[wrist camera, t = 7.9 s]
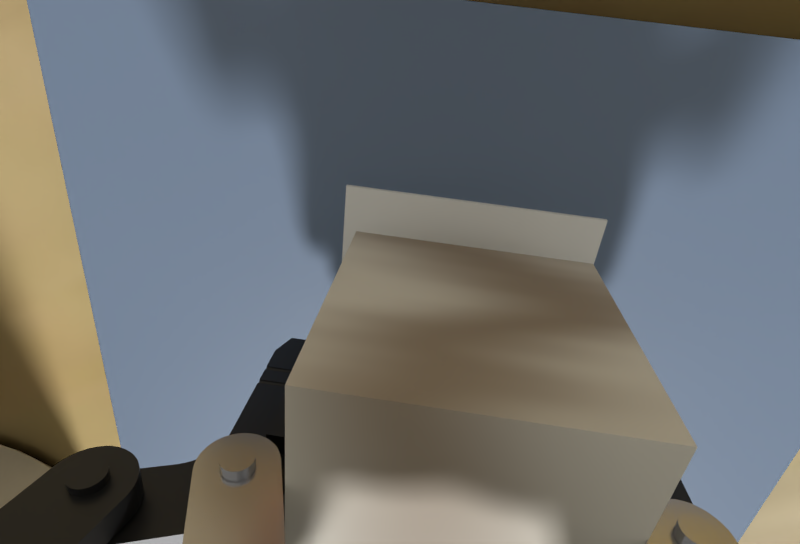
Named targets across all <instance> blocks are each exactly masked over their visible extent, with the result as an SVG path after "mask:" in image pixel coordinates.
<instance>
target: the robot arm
mask: <svg viewBox="0 0 800 544" xmlns="http://www.w3.org/2000/svg"><path fill="white" fill-rule="evenodd" d="M305 341H306V340H303V339H296V338H291V339H290V340H288V341H287V342H286V343H284V344H283V345H282V346H280V347H279V348H278V349H276V350H275V352H274V354H273V355H272V357H271V359H270V361H269V363H268V365H267V368H266V369H265V370H264V372H263V374H262V376H261V378H260V380H259V383H257V385H256V387H255V389H254V390H253V392H252V394H251V396H250V398H249V400H248V401H247V403H246V405H245V407H244V409H243V411H242V413H241V414H240V416H239V418H238V420H237V422H236V424H235V425H234V427H233V429H232V431H231V433H230V434H229V436H225V437H223V438H220V439H218V440H216V441H214V442H213V443H211V444H210V445H209V446H207V447H206V448H205V449H204V450H203V451H202V452H201V453H200V454H199V456H198V457H197V459H196V460H193V461H190V462H186V463H181V464H174V465H165V466H157V467H148V468H140V466H139V463H138V460H137V458H136V457H135V455H133V454H132V453H131V452H130V451H128V450H126V449H123V448H120V447H114V446H101V447H94V448H89V449H86V450H83V451H80V452H77V453H75V454H73V455H71V456H69V457H67V458H65V459H63V460H62V461H60V462H59V463H57V464H56V465H55V466H53V467H52V468H51V469H50V470H48V471H47V472H46V473H45V474H43V475H42V476H41V477H40V478H38V479H37V480H36V481H34V482H33V483H32V484H31V485H29V486H28V487H27V488H26V489H24V490H23V491H22V492H21V493H19V494H18V495H17V496H16V497H14V498H13V499H12V500H10V501H9V502H8V503H7V504H5V505H4V506H3V507H2V508H0V544H285V384H286V382H287V379H288V377H289V375H290V373H291V371H292V369H293V366H294V364H295V362H296V360H297V358H298V356H299V354H300V351H301V349H302V347H303V345H304V343H305ZM645 544H738V543H737V541H736V539H735V538H734V536H733V535H732V534H731V533H730V531H729V530H728V529H727V528H726V527H725V526H724V525H723V524H722V523H721V522H720V521H719V520H718V519H716V518H715V517H714V516H712V515H711V514H710V513H708V512H707V511H705V510H703V509H702V508H700V507H698V506H696V505H693V503H692V501H691V499H690V497H689V495H688V493H687V491H686V489H685V487H684V485H683V483H682V481H681V479H680V481H679V483H678V485H677V487H676V489H675V491H674V493H673V494H672V496H671V498H670V500H669V502H668V504H667V506H666V508H665V510H664V511H663V513H662V515H661V517H660V519H659V521H658V523H657V525H656V526H655V528H654V530H653V532H652V534H651V536H650V538H649V540H646V542H645Z"/></svg>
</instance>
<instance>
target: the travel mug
mask: <svg viewBox="0 0 800 544" xmlns="http://www.w3.org/2000/svg"><path fill="white" fill-rule="evenodd" d="M51 468H52V467H51V466H49V465H47V464H45V463H43V462H41V461H39V460H37V459H35V458H33V457H31V456H29V455H27V454H25V453H23V452H21V451H19V450H16V449H12V448H9V447H6V446H3V445H0V508H2V507H3V506H4V505H5V504H7V503H8V502H9V501H10V500H12V499H13V498H14V497H16V496H17V495H18V494H19V493H21V492H22V491H23V490H24V489H26V488H27V487H28V486H29V485H31V484H32V483H33V482H34V481H36V480H37V479H38V478H40V477H41V476H42V475H43V474H45V473H46V472H47V471H48V470H50V469H51Z"/></svg>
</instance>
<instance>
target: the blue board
mask: <svg viewBox="0 0 800 544" xmlns="http://www.w3.org/2000/svg"><path fill="white" fill-rule="evenodd" d="M27 4H28V8H29V13H30V18H31V23H32V27H33V32H34V37H35V42H36V46H37V51H38V56H39V61H40V65H41V70H42V75H43V79H44V84H45V89H46V94H47V98H48V103H49V108H50V113H51V117H52V122H53V127H54V132H55V136H56V141H57V146H58V151H59V155H60V160H61V165H62V170H63V174H64V179H65V184H66V189H67V193H68V198H69V203H70V208H71V212H72V217H73V222H74V226H75V231H76V236H77V241H78V245H79V250H80V255H81V260H82V264H83V269H84V274H85V279H86V283H87V288H88V293H89V298H90V302H91V307H92V312H93V317H94V321H95V326H96V331H97V336H98V340H99V345H100V350H101V354H102V359H103V364H104V369H105V373H106V378H107V383H108V388H109V392H110V397H111V402H112V407H113V411H114V416H115V421H116V426H117V430H118V435H119V440H120V445H121V448H123V449H126V450H128V451H130V452H131V453H132V454H133V455H135V457H136V458H137V460H138V463H139V466H140V468H148V467H157V466H165V465H174V464H181V463H186V462H190V461H193V460H196V459H197V457H198V456H199V454H200V453H201V452H202V451H203V450H204V449H205V448H206V447H207V446H209V445H210V444H211V443H213V442H214V441H216V440H218V439H220V438H223V437H225V436H229V434H230V433H231V431H232V429H233V427H234V425H235V424H236V422H237V420H238V418H239V416H240V414H241V413H242V411H243V409H244V407H245V405H246V403H247V401H248V400H249V398H250V396H251V394H252V392H253V390H254V389H255V387H256V385H257V383H259V380H260V378H261V376H262V374H263V372H264V370H265V369H266V368H267V365H268V363H269V361H270V359H271V357H272V355H273V354H274V352H275V350H276V349H278V348H279V347H280V346H282V345H283V344H284V343H286V342H287V341H288V340H290V339H291V338H296V339H303V340H306V338H307V336H308V334H309V332H310V330H311V328H312V326H313V323H314V321H315V319H316V317H317V315H318V313H319V310H320V308H321V306H322V304H323V302H324V300H325V298H326V295H327V293H328V291H329V289H330V287H331V285H332V283H333V280H334V278H335V276H336V274H337V272H338V270H339V267H340V265H341V263H342V261H343V259H344V257H345V255H346V252H347V250H348V248H349V246H350V244H351V242H352V239H353V237H354V235H355V233H356V231H359V232H366V233H373V234H380V235H388V236H395V237H402V238H409V239H417V240H424V241H431V242H438V243H445V244H453V245H460V246H467V247H474V248H482V249H489V250H496V251H503V252H511V253H518V254H525V255H532V256H540V257H547V258H554V259H561V260H569V261H576V262H583V263H590V264H594V266H595V268H596V270H597V271H598V273H599V275H600V277H601V278H602V280H603V282H604V284H605V286H606V287H607V289H608V291H609V293H610V294H611V296H612V298H613V300H614V301H615V303H616V305H617V307H618V308H619V310H620V312H621V314H622V315H623V317H624V319H625V321H626V322H627V324H628V326H629V328H630V329H631V331H632V333H633V335H634V336H635V338H636V340H637V342H638V344H639V345H640V347H641V349H642V351H643V352H644V354H645V356H646V358H647V359H648V361H649V363H650V365H651V366H652V368H653V370H654V372H655V373H656V375H657V377H658V379H659V380H660V382H661V384H662V386H663V387H664V389H665V391H666V393H667V394H668V396H669V398H670V400H671V402H672V403H673V405H674V407H675V409H676V410H677V412H678V414H679V416H680V417H681V419H682V421H683V423H684V424H685V426H686V428H687V430H688V431H689V433H690V435H691V437H692V438H693V440H694V442H695V444H696V445H697V449H696V451H695V453H694V455H693V457H692V459H691V460H690V462H689V464H688V466H687V468H686V470H685V472H684V474H683V476H682V477H681V481H682V483H683V485H684V487H685V489H686V491H687V493H688V495H689V497H690V499H691V501H692V503H693V505H696V506H698V507H700V508H702V509H703V510H705V511H707V512H708V513H710V514H711V515H712V516H714V517H715V518H716V519H718V520H719V521H720V522H721V523H722V524H723V525H724V526H725V527H726V528H727V529H728V530H729V531H730V533H731V534H732V535H733V536H734V538H735V539H736V541H737V543H738V541H739V540H740V538H741V537H742V535H743V534H744V532H745V531H746V529H747V528H748V526H749V525H750V523H751V522H752V520H753V519H754V517H755V516H756V514H757V513H758V511H759V510H760V508H761V507H762V505H763V503H764V502H765V500H766V499H767V497H768V496H769V494H770V493H771V491H772V490H773V488H774V487H775V485H776V484H777V482H778V481H779V479H780V478H781V476H782V475H783V473H784V472H785V470H786V469H787V467H788V466H789V464H790V463H791V461H792V460H793V458H794V457H795V455H796V453H797V452H798V450H799V449H800V40H797V39H789V38H781V37H772V36H764V35H755V34H747V33H738V32H730V31H721V30H713V29H704V28H696V27H687V26H679V25H670V24H662V23H653V22H645V21H636V20H628V19H619V18H611V17H602V16H594V15H586V14H577V13H569V12H560V11H552V10H543V9H535V8H526V7H518V6H509V5H501V4H492V3H484V2H475V1H467V0H27Z"/></svg>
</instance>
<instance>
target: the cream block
mask: <svg viewBox="0 0 800 544" xmlns="http://www.w3.org/2000/svg"><path fill="white" fill-rule="evenodd" d="M696 449H697V445H696V444H695V442H694V440H693V438H692V437H691V435H690V433H689V431H688V430H687V428H686V426H685V424H684V423H683V421H682V419H681V417H680V416H679V414H678V412H677V410H676V409H675V407H674V405H673V403H672V402H671V400H670V398H669V396H668V394H667V393H666V391H665V389H664V387H663V386H662V384H661V382H660V380H659V379H658V377H657V375H656V373H655V372H654V370H653V368H652V366H651V365H650V363H649V361H648V359H647V358H646V356H645V354H644V352H643V351H642V349H641V347H640V345H639V344H638V342H637V340H636V338H635V336H634V335H633V333H632V331H631V329H630V328H629V326H628V324H627V322H626V321H625V319H624V317H623V315H622V314H621V312H620V310H619V308H618V307H617V305H616V303H615V301H614V300H613V298H612V296H611V294H610V293H609V291H608V289H607V287H606V286H605V284H604V282H603V280H602V278H601V277H600V275H599V273H598V271H597V270H596V268H595V266H594V264H590V263H583V262H576V261H569V260H561V259H554V258H547V257H540V256H532V255H525V254H518V253H511V252H503V251H496V250H489V249H482V248H474V247H467V246H460V245H453V244H445V243H438V242H431V241H424V240H417V239H409V238H402V237H395V236H388V235H380V234H373V233H366V232H359V231H356V233H355V235H354V237H353V239H352V242H351V244H350V246H349V248H348V250H347V252H346V255H345V257H344V259H343V261H342V263H341V265H340V267H339V270H338V272H337V274H336V276H335V278H334V280H333V283H332V285H331V287H330V289H329V291H328V293H327V295H326V298H325V300H324V302H323V304H322V306H321V308H320V310H319V313H318V315H317V317H316V319H315V321H314V323H313V326H312V328H311V330H310V332H309V334H308V336H307V338H306V341H305V343H304V345H303V347H302V349H301V351H300V354H299V356H298V358H297V360H296V362H295V364H294V366H293V369H292V371H291V373H290V375H289V377H288V379H287V382H286V384H285V544H645V542H646V540H649V538H650V536H651V534H652V532H653V530H654V528H655V526H656V525H657V523H658V521H659V519H660V517H661V515H662V513H663V511H664V510H665V508H666V506H667V504H668V502H669V500H670V498H671V496H672V494H673V493H674V491H675V489H676V487H677V485H678V483H679V481H680V479H681V477H682V476H683V474H684V472H685V470H686V468H687V466H688V464H689V462H690V460H691V459H692V457H693V455H694V453H695V451H696Z"/></svg>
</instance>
